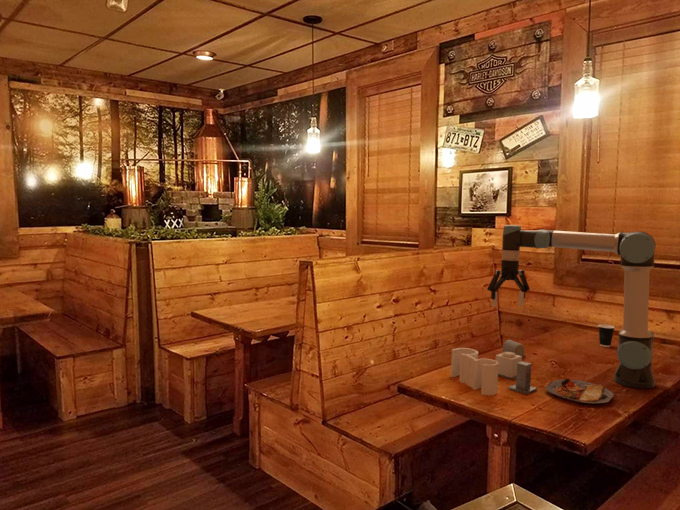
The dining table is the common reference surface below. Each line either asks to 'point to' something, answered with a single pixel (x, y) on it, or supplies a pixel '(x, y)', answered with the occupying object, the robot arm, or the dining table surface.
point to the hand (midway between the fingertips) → (507, 306)
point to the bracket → (475, 370)
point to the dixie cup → (605, 335)
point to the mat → (507, 377)
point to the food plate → (589, 390)
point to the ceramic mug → (513, 347)
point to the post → (523, 379)
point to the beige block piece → (508, 363)
